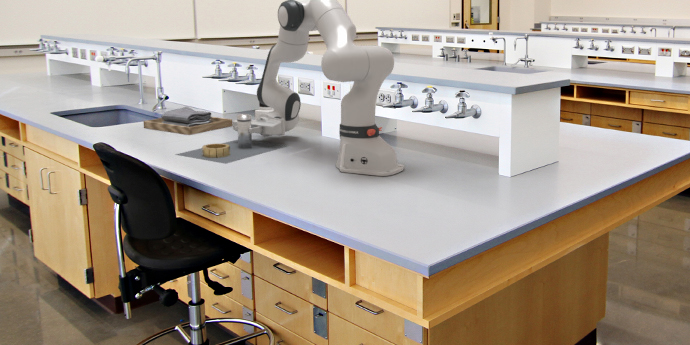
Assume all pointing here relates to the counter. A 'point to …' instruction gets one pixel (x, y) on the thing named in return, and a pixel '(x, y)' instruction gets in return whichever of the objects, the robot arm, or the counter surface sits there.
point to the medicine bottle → (262, 110)
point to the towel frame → (215, 124)
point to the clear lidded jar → (244, 131)
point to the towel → (186, 117)
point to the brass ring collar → (216, 150)
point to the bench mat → (236, 151)
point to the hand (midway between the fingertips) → (243, 129)
